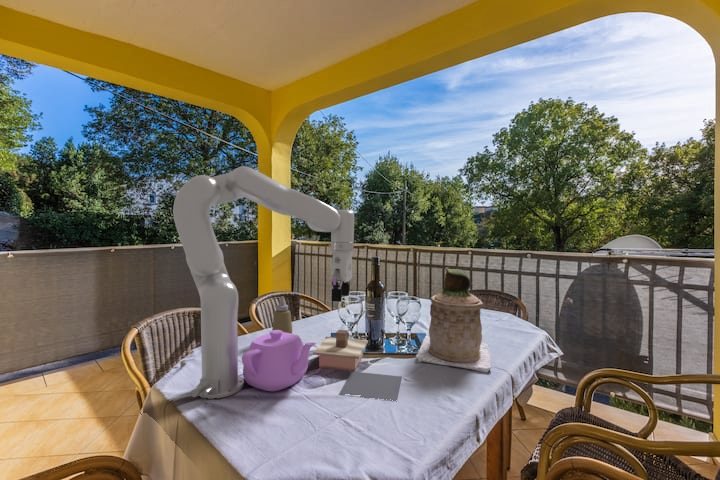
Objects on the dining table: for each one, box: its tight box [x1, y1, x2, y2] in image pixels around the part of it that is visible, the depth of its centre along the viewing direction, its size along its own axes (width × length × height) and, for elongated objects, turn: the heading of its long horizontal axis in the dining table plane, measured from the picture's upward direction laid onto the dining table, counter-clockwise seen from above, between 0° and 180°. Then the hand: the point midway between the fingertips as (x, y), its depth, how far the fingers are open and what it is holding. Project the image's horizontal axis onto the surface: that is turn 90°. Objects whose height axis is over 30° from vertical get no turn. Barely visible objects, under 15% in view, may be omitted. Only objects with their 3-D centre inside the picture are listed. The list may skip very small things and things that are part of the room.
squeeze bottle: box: [271, 295, 293, 334], centre depth 135 cm, size 8×8×18 cm
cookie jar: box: [415, 267, 492, 373], centre depth 121 cm, size 25×25×32 cm
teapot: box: [241, 330, 317, 392], centre depth 98 cm, size 23×21×15 cm
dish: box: [318, 351, 364, 372], centre depth 114 cm, size 12×12×5 cm
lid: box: [312, 329, 369, 359], centre depth 114 cm, size 15×15×6 cm
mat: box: [338, 371, 403, 403], centre depth 98 cm, size 15×16×1 cm
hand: (340, 298), depth 113 cm, fingers open, 9 cm apart
